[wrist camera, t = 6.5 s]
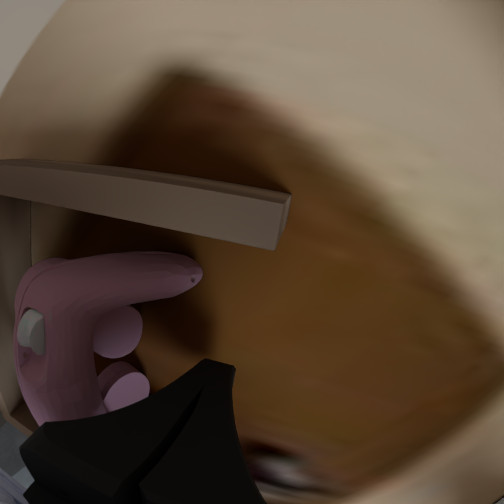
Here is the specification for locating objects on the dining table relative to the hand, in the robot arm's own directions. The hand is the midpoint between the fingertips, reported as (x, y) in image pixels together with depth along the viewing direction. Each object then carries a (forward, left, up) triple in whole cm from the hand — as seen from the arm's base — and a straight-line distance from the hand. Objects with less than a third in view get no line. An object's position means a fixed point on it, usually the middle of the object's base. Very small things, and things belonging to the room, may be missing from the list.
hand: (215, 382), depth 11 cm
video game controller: (-1, +4, -2) cm, 4 cm away
